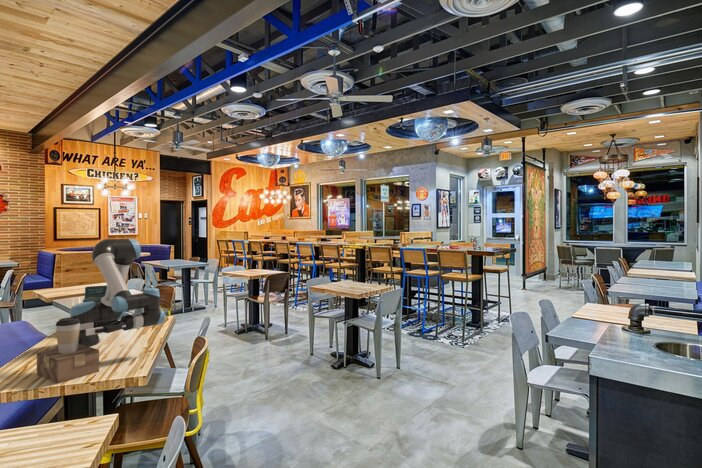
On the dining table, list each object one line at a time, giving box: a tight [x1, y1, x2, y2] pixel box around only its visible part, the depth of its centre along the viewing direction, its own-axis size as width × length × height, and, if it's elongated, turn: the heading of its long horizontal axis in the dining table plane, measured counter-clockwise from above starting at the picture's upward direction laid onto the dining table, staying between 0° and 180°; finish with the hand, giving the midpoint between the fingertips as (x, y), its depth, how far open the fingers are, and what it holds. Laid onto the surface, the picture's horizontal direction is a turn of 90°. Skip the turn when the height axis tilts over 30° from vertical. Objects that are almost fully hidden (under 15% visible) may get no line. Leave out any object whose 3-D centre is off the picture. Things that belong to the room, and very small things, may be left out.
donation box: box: [82, 284, 107, 328], centre depth 246 cm, size 16×16×28 cm
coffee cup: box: [55, 316, 80, 353], centre depth 171 cm, size 9×9×15 cm
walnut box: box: [36, 344, 100, 384], centre depth 171 cm, size 20×16×10 cm
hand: (81, 330), depth 174 cm, fingers open, 13 cm apart
